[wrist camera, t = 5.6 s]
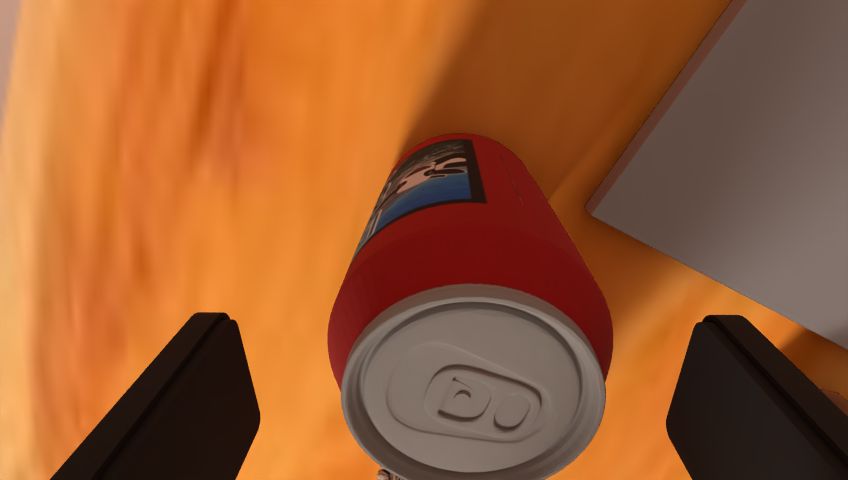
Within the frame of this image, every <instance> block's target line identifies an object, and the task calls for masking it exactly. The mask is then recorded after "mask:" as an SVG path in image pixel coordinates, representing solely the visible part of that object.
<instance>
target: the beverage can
mask: <svg viewBox="0 0 848 480" xmlns="http://www.w3.org/2000/svg"><path fill="white" fill-rule="evenodd" d="M612 351H613V327H612V320H611V316H610V312H609V309H608V306H607V303H606V301H605V298H604V296H603V294H602V292H601V290H600V289H599V287H598V285H597V283H596V282H595V280H594V278H593V277H592V275H591V273H590V271H589V270H588V268H587V266H586V265H585V263H584V261H583V259H582V258H581V256H580V254H579V252H578V251H577V249H576V247H575V246H574V244H573V242H572V241H571V239H570V237H569V236H568V234H567V232H566V231H565V229H564V227H563V226H562V224H561V222H560V221H559V219H558V217H557V216H556V214H555V212H554V211H553V209H552V208H551V206H550V204H549V203H548V201H547V200H546V198H545V196H544V195H543V193H542V192H541V190H540V188H539V187H538V185H537V184H536V182H535V181H534V179H533V178H532V176H531V175H530V173H529V172H528V170H527V169H526V167H525V166H524V164H523V163H522V162H521V160H520V159H519V158H518V157H517V156H516V155H515V154H514V153H513V152H511V151H510V150H509V149H508V148H506V147H505V146H503V145H502V144H500V143H498V142H496V141H494V140H492V139H489V138H486V137H483V136H479V135H474V134H466V133H456V134H447V135H442V136H438V137H435V138H432V139H429V140H427V141H425V142H423V143H421V144H419V145H417V146H416V147H414V148H413V149H411V150H410V151H409V152H408V153H406V154H405V155H404V156H403V157H402V158H401V159H400V161H399V162H398V163H397V164H396V166H395V167H394V168H393V170H392V172H391V173H390V175H389V177H388V179H387V181H386V183H385V186H384V188H383V190H382V192H381V194H380V196H379V198H378V201H377V203H376V205H375V207H374V210H373V212H372V214H371V217H370V219H369V221H368V223H367V226H366V228H365V230H364V233H363V235H362V237H361V240H360V242H359V244H358V247H357V249H356V251H355V254H354V256H353V259H352V261H351V264H350V266H349V268H348V271H347V273H346V276H345V278H344V281H343V283H342V286H341V288H340V291H339V293H338V296H337V298H336V301H335V303H334V306H333V309H332V312H331V315H330V320H329V325H328V352H329V358H330V363H331V368H332V371H333V374H334V377H335V379H336V381H337V384H338V386H339V389H340V391H341V403H342V409H343V413H344V417H345V420H346V423H347V425H348V428H349V430H350V432H351V433H352V435H353V437H354V439H355V440H356V441H357V443H358V444H359V446H360V447H361V448H362V449H363V450H364V451H365V453H366V454H367V455H368V456H369V457H370V458H371V459H373V460H374V461H375V462H376V463H377V464H379V465H380V466H381V467H383V468H384V469H385V470H387V471H389V472H390V473H392V474H394V475H395V476H397V477H399V478H401V479H403V480H544V479H546V478H548V477H550V476H552V475H554V474H556V473H557V472H559V471H560V470H562V469H563V468H565V467H566V466H567V465H569V464H570V463H571V462H573V461H574V460H575V459H576V458H577V457H578V456H579V455H580V454H581V453H582V452H583V451H584V450H585V448H586V447H587V446H588V444H589V443H590V442H591V440H592V439H593V437H594V435H595V434H596V432H597V430H598V428H599V426H600V423H601V420H602V417H603V413H604V409H605V400H606V388H605V381H606V378H607V374H608V371H609V367H610V363H611V359H612Z"/></svg>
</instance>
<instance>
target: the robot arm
mask: <svg viewBox="0 0 848 480" xmlns="http://www.w3.org/2000/svg"><path fill="white" fill-rule="evenodd" d="M259 424H260V411H259V407H258V403H257V399H256V395H255V391H254V387H253V383H252V379H251V375H250V371H249V367H248V363H247V359H246V355H245V351H244V347H243V343H242V339H241V335H240V331H239V327H238V324H237V322H236V321H235V320H230V318H229V316H228V315H227V314H226V313H208V312H199V313H195V314H194V315H193V316H191V318H190V319H189V320H188V321H187V322H186V323H185V325H184V326H183V327H182V328H181V329H180V330H179V331H178V333H177V334H176V335H175V336H174V337H173V338H172V340H171V341H170V342H169V343H168V344H167V345H166V346H165V348H164V349H163V350H162V351H161V352H160V353H159V355H158V356H157V357H156V358H155V359H154V360H153V361H152V363H151V364H150V365H149V366H148V367H147V368H146V369H145V371H144V372H143V373H142V374H141V375H140V376H139V378H138V379H137V380H136V381H135V382H134V383H133V384H132V386H131V387H130V388H129V389H128V390H127V391H126V393H125V394H124V395H123V396H122V397H121V398H120V399H119V401H118V402H117V403H116V404H115V405H114V406H113V408H112V409H111V410H110V411H109V412H108V413H107V414H106V416H105V417H104V418H103V419H102V420H101V421H100V422H99V424H98V425H97V426H96V427H95V428H94V429H93V431H92V432H91V433H90V434H89V435H88V436H87V437H86V439H85V440H84V441H83V442H82V443H81V444H80V446H79V447H78V448H77V449H76V450H75V451H74V452H73V454H72V455H71V456H70V457H69V458H68V459H67V461H66V462H65V463H64V464H63V465H62V466H61V467H60V469H59V470H58V471H57V472H56V473H55V474H54V475H53V477H52V478H51V479H50V480H235V479H236V477H237V475H238V473H239V471H240V468H241V466H242V464H243V462H244V460H245V458H246V455H247V453H248V451H249V449H250V447H251V444H252V442H253V440H254V438H255V436H256V434H257V431H258V428H259ZM666 428H667V433H668V436H669V438H670V440H671V442H672V444H673V445H674V447H675V449H676V451H677V453H678V454H679V456H680V458H681V460H682V462H683V464H684V465H685V467H686V469H687V471H688V473H689V474H690V476H691V478H692V480H848V416H847V415H846V414H845V413H844V412H843V411H842V410H841V409H840V408H839V407H837V406H836V405H835V404H834V403H833V402H832V401H831V400H830V399H829V398H828V397H827V396H826V395H825V394H824V393H823V392H822V391H821V390H820V389H819V388H818V387H817V386H816V385H815V384H814V383H813V382H812V381H810V380H809V379H808V378H807V377H806V376H805V375H804V374H803V373H802V372H801V371H800V370H799V369H798V368H797V367H796V366H795V365H794V364H793V363H792V362H791V361H790V360H789V359H788V358H787V357H786V356H784V355H783V354H782V353H781V352H780V351H779V350H778V349H777V348H776V347H775V346H774V345H773V344H772V343H771V342H770V341H769V340H768V339H767V338H766V337H765V336H764V335H763V334H762V333H761V332H760V331H759V330H757V329H756V328H755V327H754V326H753V325H752V324H751V323H750V322H749V321H748V320H747V319H746V318H744V317H743V316H740V315H708V316H706V317H705V318H704V319H703V321H702V322H699V323H697V324H696V325H695V327H694V329H693V332H692V335H691V339H690V342H689V345H688V349H687V352H686V355H685V359H684V362H683V365H682V369H681V372H680V375H679V379H678V382H677V385H676V388H675V392H674V395H673V398H672V402H671V405H670V408H669V412H668V415H667V419H666Z"/></svg>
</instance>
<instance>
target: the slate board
mask: <svg viewBox="0 0 848 480" xmlns="http://www.w3.org/2000/svg"><path fill="white" fill-rule="evenodd" d="M584 208H585V209H586V210H587V211H588V213H589V214H590V215H591V216H593V217H595V218H597V219H599V220H600V221H602V222H604V223H606V224H608V225H610V226H612V227H614V228H616V229H618V230H620V231H622V232H623V233H625V234H627V235H629V236H631V237H633V238H635V239H637V240H639V241H641V242H643V243H645V244H646V245H648V246H650V247H652V248H654V249H656V250H658V251H660V252H662V253H664V254H666V255H667V256H669V257H671V258H673V259H675V260H677V261H679V262H681V263H683V264H685V265H687V266H689V267H690V268H692V269H694V270H696V271H698V272H700V273H702V274H704V275H706V276H708V277H710V278H712V279H713V280H715V281H717V282H719V283H721V284H723V285H725V286H727V287H729V288H731V289H733V290H734V291H736V292H738V293H740V294H742V295H744V296H746V297H748V298H750V299H752V300H754V301H756V302H757V303H759V304H761V305H763V306H765V307H767V308H769V309H771V310H773V311H775V312H777V313H779V314H780V315H782V316H784V317H786V318H788V319H790V320H792V321H794V322H796V323H798V324H800V325H801V326H803V327H805V328H807V329H809V330H811V331H813V332H815V333H817V334H819V335H821V336H823V337H824V338H826V339H828V340H830V341H832V342H834V343H836V344H838V345H840V346H842V347H844V348H846V349H847V350H848V0H732V1H731V2H730V4H729V5H728V7H727V8H726V9H725V11H724V12H723V14H722V15H721V16H720V18H719V19H718V21H717V22H716V23H715V25H714V26H713V28H712V29H711V30H710V32H709V33H708V35H707V36H706V37H705V39H704V40H703V42H702V43H701V44H700V46H699V47H698V49H697V50H696V51H695V53H694V54H693V56H692V57H691V58H690V60H689V61H688V63H687V64H686V65H685V67H684V68H683V70H682V71H681V72H680V74H679V75H678V77H677V78H676V79H675V81H674V82H673V84H672V85H671V86H670V88H669V89H668V91H667V92H666V93H665V95H664V96H663V98H662V99H661V100H660V102H659V103H658V105H657V106H656V107H655V109H654V110H653V112H652V113H651V114H650V116H649V117H648V119H647V120H646V121H645V123H644V124H643V126H642V127H641V128H640V130H639V131H638V133H637V134H636V135H635V137H634V138H633V140H632V141H631V142H630V144H629V145H628V147H627V148H626V149H625V151H624V152H623V154H622V155H621V156H620V158H619V159H618V161H617V162H616V163H615V165H614V166H613V168H612V169H611V170H610V172H609V173H608V175H607V176H606V177H605V179H604V180H603V182H602V183H601V184H600V186H599V187H598V189H597V190H596V191H595V193H594V194H593V196H592V197H591V198H590V200H589V201H588V203H587V204H586V205H585V207H584Z"/></svg>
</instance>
